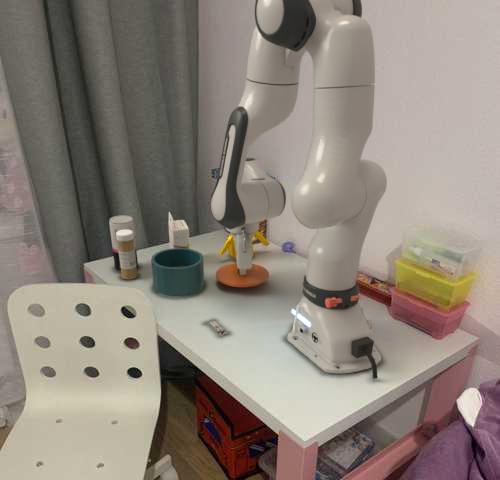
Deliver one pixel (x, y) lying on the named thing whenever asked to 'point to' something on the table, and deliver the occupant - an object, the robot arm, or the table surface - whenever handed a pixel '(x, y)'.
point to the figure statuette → (231, 247)
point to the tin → (178, 272)
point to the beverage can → (116, 225)
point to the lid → (242, 276)
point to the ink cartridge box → (178, 234)
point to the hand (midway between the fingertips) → (242, 271)
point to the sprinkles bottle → (127, 254)
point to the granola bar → (219, 328)
